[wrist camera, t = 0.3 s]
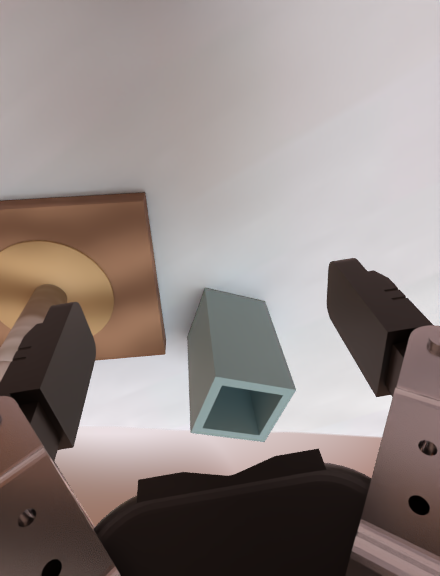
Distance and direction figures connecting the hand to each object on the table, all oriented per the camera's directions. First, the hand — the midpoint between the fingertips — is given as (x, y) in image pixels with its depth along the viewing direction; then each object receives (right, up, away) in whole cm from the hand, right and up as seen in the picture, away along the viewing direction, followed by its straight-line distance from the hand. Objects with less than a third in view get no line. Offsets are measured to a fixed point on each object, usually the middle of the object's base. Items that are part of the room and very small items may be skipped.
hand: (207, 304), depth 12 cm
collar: (+1, -3, +24) cm, 24 cm away
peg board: (-14, +1, +20) cm, 24 cm away
